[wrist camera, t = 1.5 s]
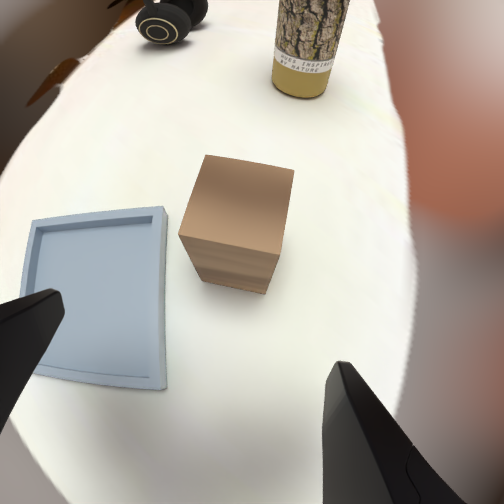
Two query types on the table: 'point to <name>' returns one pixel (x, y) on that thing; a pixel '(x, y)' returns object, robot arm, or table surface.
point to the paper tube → (306, 44)
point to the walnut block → (236, 222)
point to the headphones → (169, 19)
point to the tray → (103, 295)
